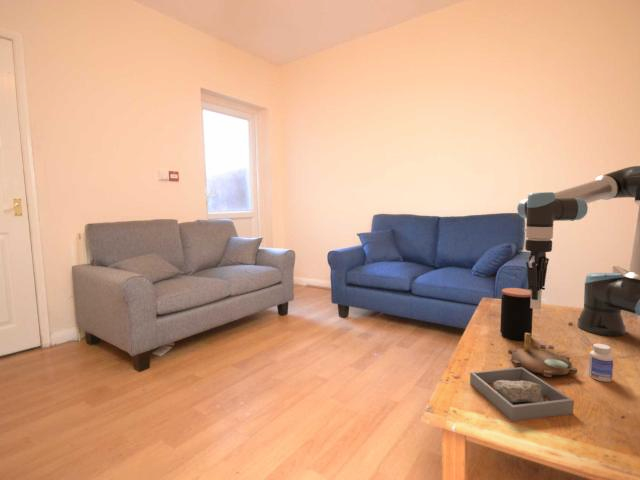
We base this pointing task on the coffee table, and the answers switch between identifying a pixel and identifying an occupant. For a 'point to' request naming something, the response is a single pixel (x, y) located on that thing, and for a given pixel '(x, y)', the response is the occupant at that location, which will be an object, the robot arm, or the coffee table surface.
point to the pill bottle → (601, 363)
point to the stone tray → (555, 407)
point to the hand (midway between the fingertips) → (535, 308)
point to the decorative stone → (519, 391)
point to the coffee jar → (516, 313)
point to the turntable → (541, 360)
